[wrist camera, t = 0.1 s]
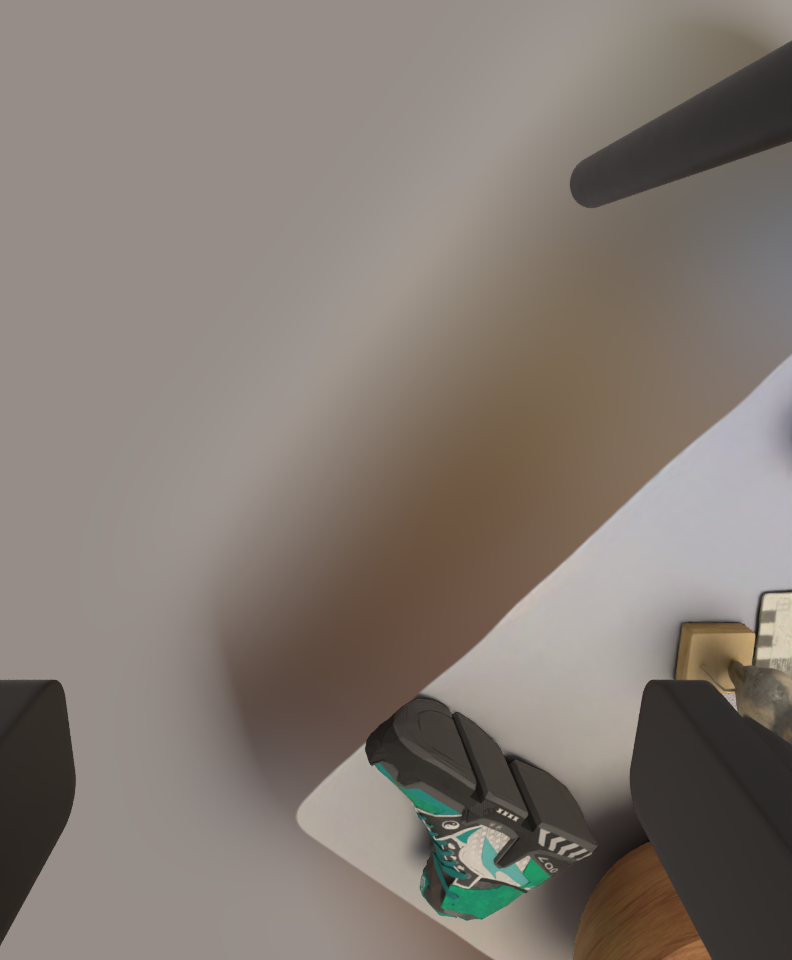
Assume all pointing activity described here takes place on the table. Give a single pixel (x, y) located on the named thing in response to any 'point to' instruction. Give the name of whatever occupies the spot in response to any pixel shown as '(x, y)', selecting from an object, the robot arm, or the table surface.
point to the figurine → (746, 662)
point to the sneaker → (477, 810)
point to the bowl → (637, 915)
